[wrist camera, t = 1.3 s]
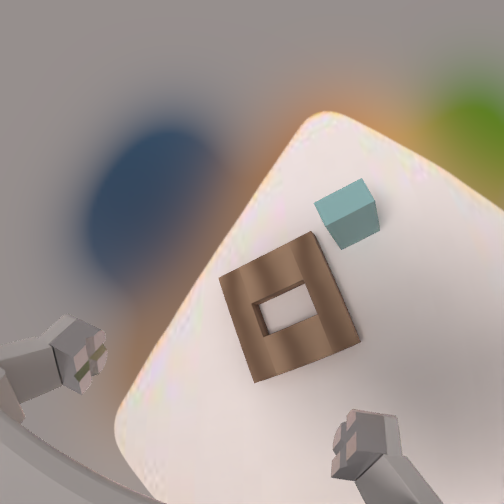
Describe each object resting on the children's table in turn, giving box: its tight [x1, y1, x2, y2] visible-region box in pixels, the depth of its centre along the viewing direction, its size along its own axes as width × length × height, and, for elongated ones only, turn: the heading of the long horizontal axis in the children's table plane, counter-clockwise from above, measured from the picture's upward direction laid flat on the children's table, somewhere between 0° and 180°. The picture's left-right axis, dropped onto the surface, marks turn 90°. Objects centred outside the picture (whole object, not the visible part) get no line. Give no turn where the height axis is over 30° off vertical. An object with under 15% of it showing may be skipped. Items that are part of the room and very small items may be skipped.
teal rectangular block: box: [314, 178, 380, 250], centre depth 38 cm, size 6×3×11 cm, turn 111°
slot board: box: [219, 231, 361, 383], centre depth 43 cm, size 15×16×2 cm
